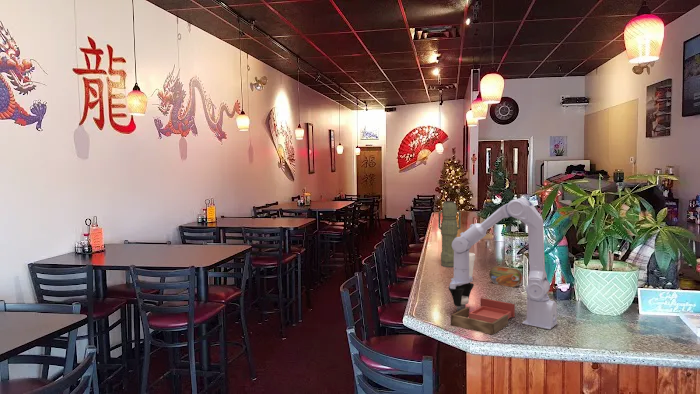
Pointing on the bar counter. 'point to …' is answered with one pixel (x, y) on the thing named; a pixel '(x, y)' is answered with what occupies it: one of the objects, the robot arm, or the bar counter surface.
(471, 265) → the foam cup
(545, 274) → the robot arm
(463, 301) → the white dome
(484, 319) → the drawer
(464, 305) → the cylinder
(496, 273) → the tin
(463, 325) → the cabinet
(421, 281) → the bar counter surface
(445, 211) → the thermos
